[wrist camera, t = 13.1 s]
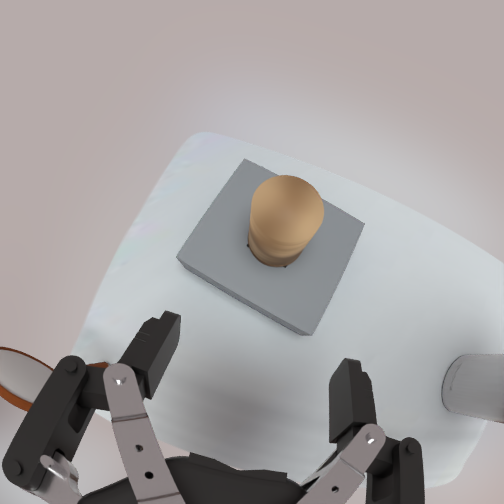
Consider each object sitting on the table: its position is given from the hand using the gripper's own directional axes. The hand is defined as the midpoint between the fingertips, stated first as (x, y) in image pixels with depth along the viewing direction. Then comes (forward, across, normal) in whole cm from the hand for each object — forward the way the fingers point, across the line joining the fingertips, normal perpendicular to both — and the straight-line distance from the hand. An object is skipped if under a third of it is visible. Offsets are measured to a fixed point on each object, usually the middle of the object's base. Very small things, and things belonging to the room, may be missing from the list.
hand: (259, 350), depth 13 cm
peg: (+21, 0, +6) cm, 22 cm away
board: (+21, 0, +6) cm, 22 cm away
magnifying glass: (+8, +16, +20) cm, 27 cm away
